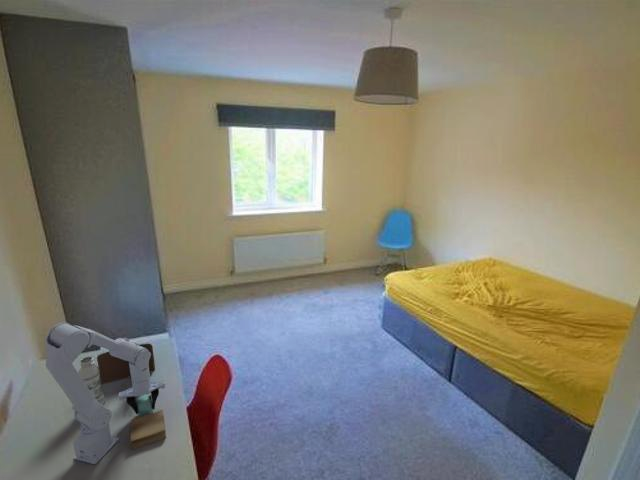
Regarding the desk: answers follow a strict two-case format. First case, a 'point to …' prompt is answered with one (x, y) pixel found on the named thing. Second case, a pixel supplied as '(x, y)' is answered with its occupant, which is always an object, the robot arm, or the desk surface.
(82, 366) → the plastic bottle
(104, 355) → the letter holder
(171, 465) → the desk surface
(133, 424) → the block
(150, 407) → the teal tapered rounded part
